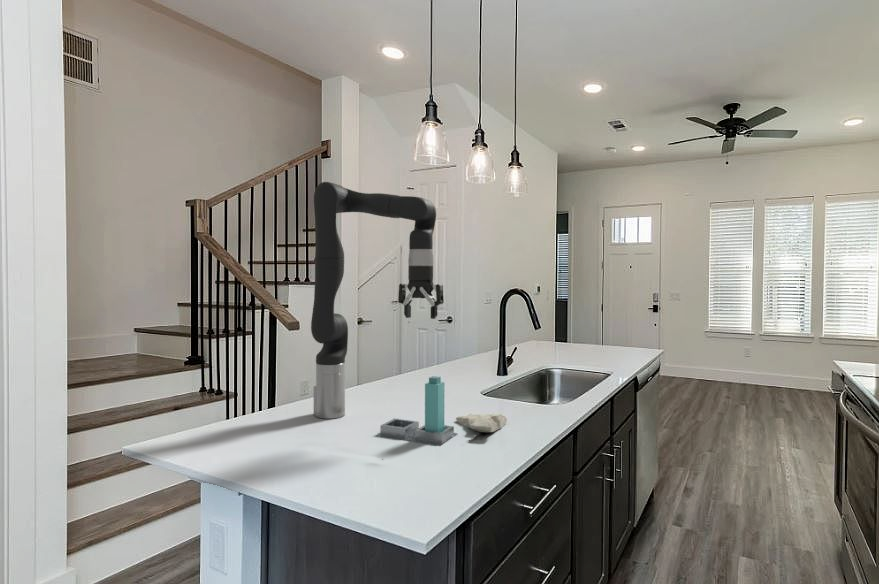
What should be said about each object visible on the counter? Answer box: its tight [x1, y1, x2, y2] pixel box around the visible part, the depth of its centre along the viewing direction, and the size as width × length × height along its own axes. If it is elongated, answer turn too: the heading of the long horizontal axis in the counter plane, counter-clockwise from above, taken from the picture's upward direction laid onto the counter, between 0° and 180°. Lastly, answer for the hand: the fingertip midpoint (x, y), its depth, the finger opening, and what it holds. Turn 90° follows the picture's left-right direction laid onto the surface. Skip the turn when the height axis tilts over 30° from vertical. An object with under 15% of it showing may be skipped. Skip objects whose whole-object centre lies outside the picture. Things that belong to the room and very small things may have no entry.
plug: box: [424, 375, 445, 433], centre depth 144 cm, size 4×4×17 cm
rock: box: [455, 413, 508, 433], centre depth 157 cm, size 21×5×15 cm
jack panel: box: [375, 418, 459, 447], centre depth 146 cm, size 20×12×4 cm, turn 65°
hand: (420, 318), depth 158 cm, fingers open, 8 cm apart
